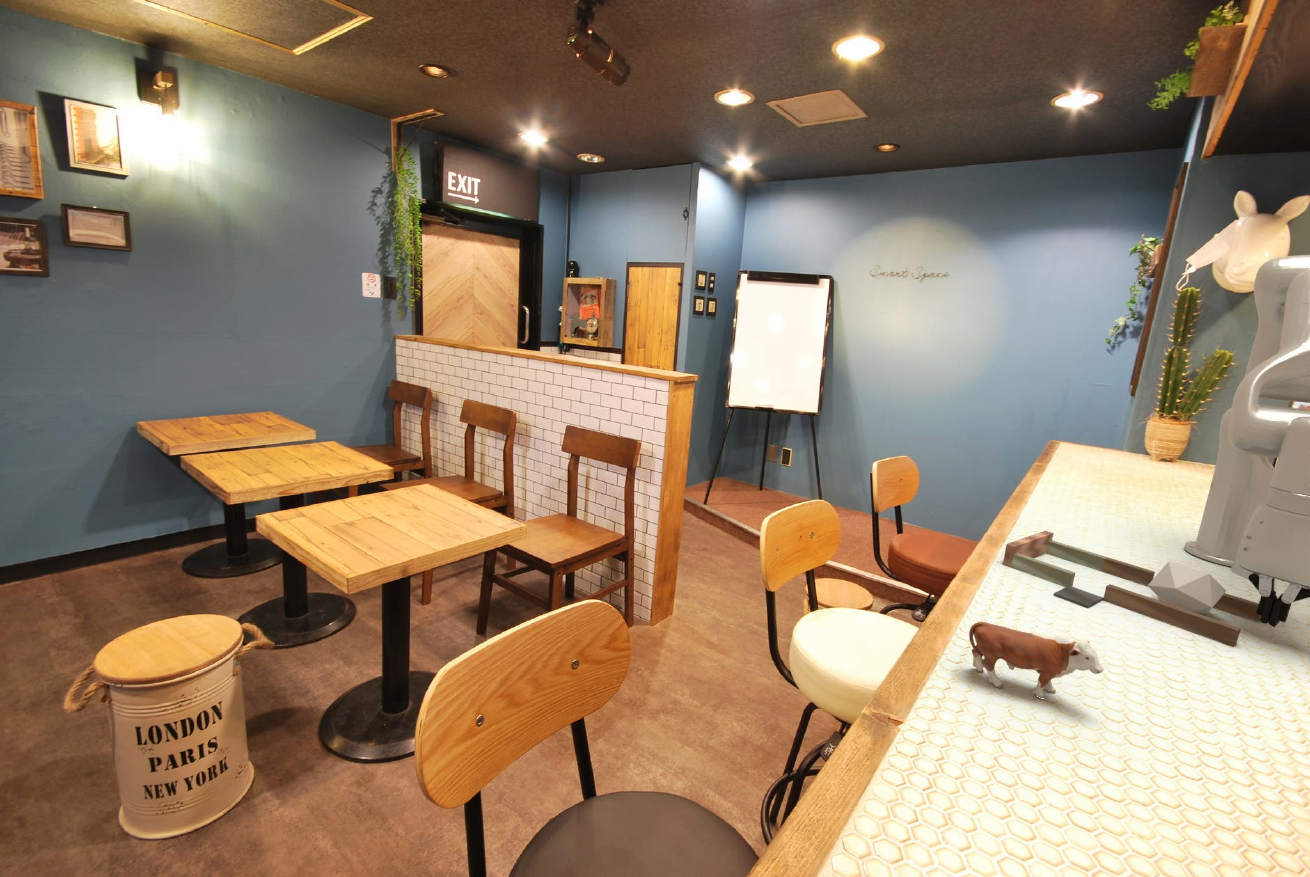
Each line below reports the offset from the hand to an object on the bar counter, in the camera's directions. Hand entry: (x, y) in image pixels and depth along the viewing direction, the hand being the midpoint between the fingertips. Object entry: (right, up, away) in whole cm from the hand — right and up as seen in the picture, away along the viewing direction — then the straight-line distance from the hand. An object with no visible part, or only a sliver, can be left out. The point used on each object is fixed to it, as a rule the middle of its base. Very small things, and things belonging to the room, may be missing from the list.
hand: (1269, 622), depth 87 cm
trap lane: (-10, +1, +15) cm, 18 cm away
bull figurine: (-46, -3, -16) cm, 49 cm away
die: (-6, -1, +8) cm, 10 cm away
